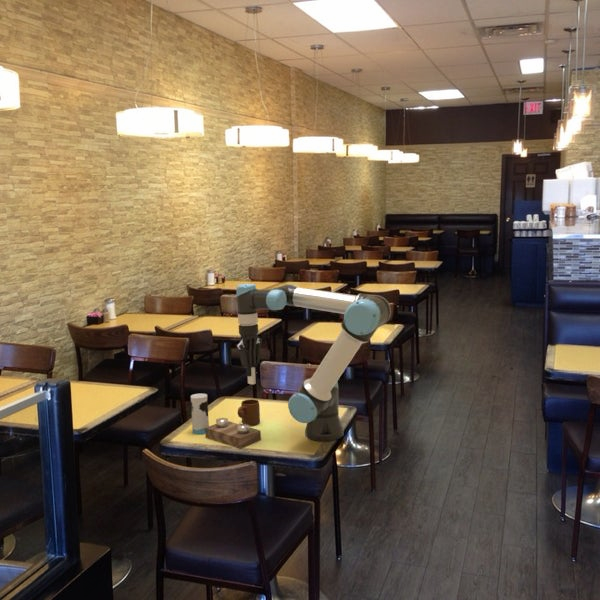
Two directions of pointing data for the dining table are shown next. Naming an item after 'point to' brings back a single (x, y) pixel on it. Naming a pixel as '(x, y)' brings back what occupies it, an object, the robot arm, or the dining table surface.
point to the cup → (199, 413)
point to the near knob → (243, 428)
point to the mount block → (232, 435)
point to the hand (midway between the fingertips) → (251, 383)
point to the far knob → (222, 422)
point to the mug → (249, 412)
